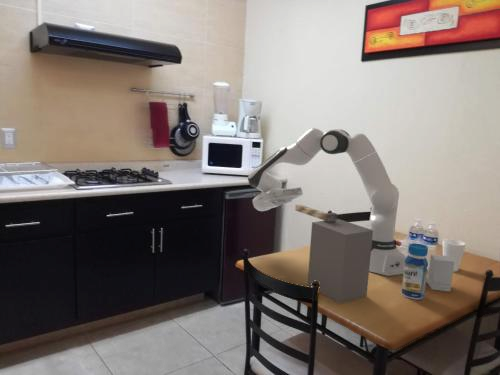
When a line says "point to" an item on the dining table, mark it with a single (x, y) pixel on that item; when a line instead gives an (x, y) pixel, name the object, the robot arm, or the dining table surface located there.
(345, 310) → the dining table surface
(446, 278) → the supplement box
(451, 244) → the foam cup
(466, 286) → the dining table surface
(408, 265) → the beverage bottle
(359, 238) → the stand
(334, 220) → the bar
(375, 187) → the robot arm
